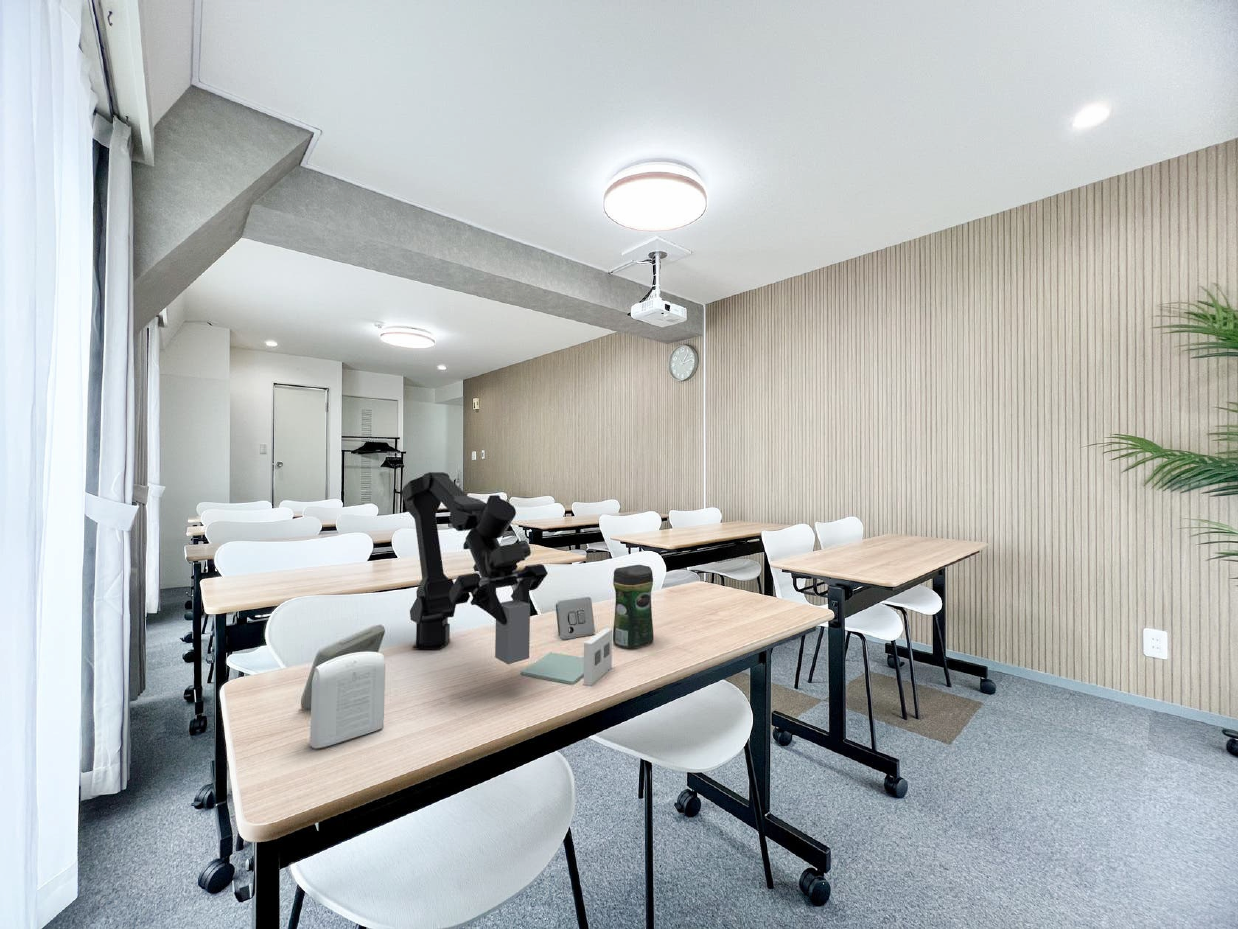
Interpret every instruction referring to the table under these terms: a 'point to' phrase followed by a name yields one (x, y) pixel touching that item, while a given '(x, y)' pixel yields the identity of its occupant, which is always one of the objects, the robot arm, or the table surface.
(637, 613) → the coffee jar
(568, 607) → the electrical switch
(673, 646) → the table surface
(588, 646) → the outlet plate
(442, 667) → the table surface
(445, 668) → the table surface
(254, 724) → the table surface
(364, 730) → the photo printer
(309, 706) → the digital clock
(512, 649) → the block
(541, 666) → the mat
